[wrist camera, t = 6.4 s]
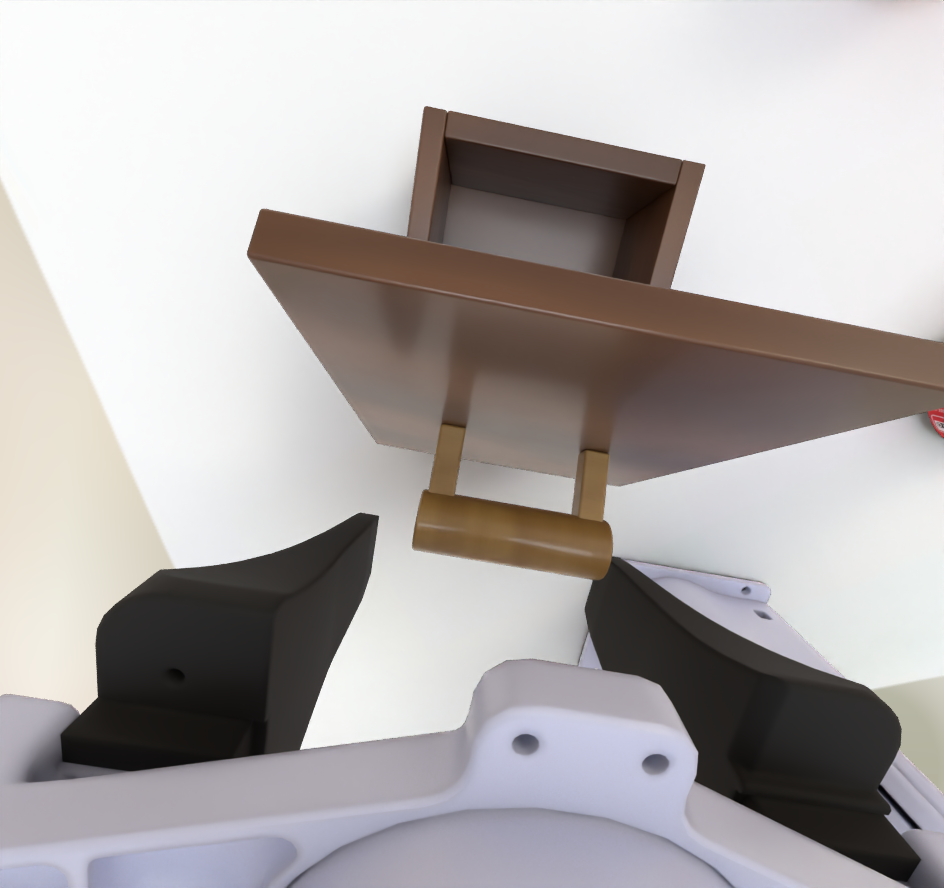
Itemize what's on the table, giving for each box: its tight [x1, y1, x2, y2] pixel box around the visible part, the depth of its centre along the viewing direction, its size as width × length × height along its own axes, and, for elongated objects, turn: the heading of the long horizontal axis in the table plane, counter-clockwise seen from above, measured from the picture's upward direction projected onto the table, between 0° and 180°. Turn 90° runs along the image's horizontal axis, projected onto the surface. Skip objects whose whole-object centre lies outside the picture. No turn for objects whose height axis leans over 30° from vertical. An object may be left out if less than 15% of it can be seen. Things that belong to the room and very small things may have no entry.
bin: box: [407, 106, 705, 289], centre depth 19 cm, size 11×10×6 cm
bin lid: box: [247, 209, 944, 580], centre depth 11 cm, size 12×10×4 cm
